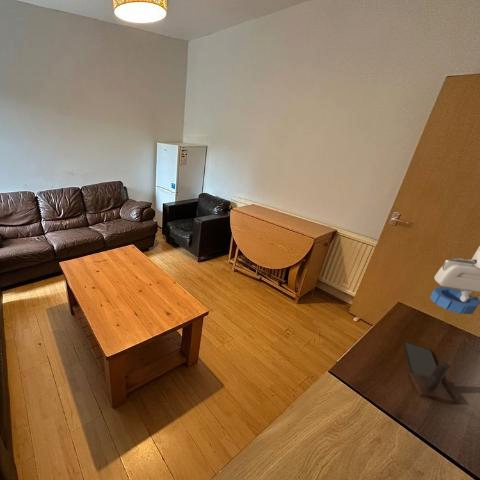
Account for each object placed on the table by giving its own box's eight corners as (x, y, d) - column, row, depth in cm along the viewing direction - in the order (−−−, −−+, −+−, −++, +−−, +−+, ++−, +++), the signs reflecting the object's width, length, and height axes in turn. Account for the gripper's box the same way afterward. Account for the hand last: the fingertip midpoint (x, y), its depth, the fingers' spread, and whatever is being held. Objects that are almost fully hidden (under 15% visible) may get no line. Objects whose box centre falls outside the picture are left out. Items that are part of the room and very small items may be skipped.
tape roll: (460, 297, 81) (465, 289, 79) (482, 317, 73) (487, 309, 71) (424, 291, 84) (428, 284, 82) (440, 310, 76) (445, 302, 74)
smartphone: (431, 350, 86) (444, 384, 75) (430, 352, 86) (443, 386, 75) (403, 340, 90) (411, 372, 78) (402, 342, 90) (410, 374, 79)
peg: (436, 382, 76) (453, 357, 72) (451, 404, 70) (471, 379, 66) (407, 375, 78) (422, 351, 74) (419, 396, 72) (436, 371, 68)
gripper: (455, 261, 71) (432, 301, 77) (560, 275, 64) (526, 317, 70) (441, 251, 76) (421, 289, 82) (537, 263, 70) (508, 303, 76)
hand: (470, 302), depth 76 cm, fingers closed on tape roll
